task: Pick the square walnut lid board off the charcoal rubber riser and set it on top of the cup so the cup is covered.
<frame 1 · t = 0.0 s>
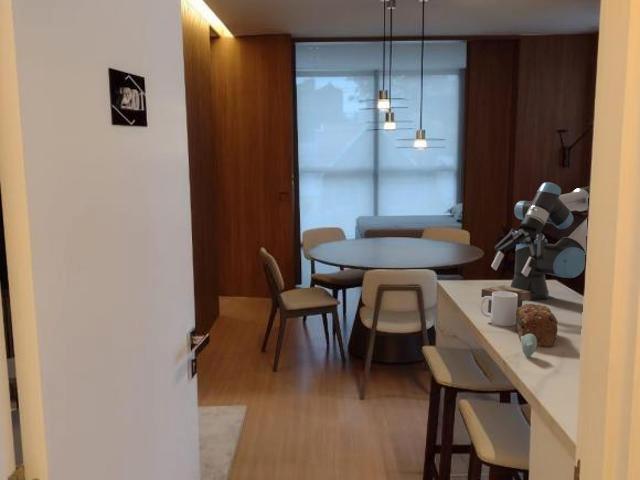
hand: (508, 271, 215), 15 cm above the breakfast bar, tool tilted 35°, fingers open, 13 cm apart
cup: (497, 323, 206), on the breakfast bar
bread: (534, 339, 189), on the breakfast bar
riser: (504, 311, 219), on the breakfast bar
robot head: (528, 357, 171), on the breakfast bar
lid: (505, 298, 218), point 5 cm above the breakfast bar, touching riser
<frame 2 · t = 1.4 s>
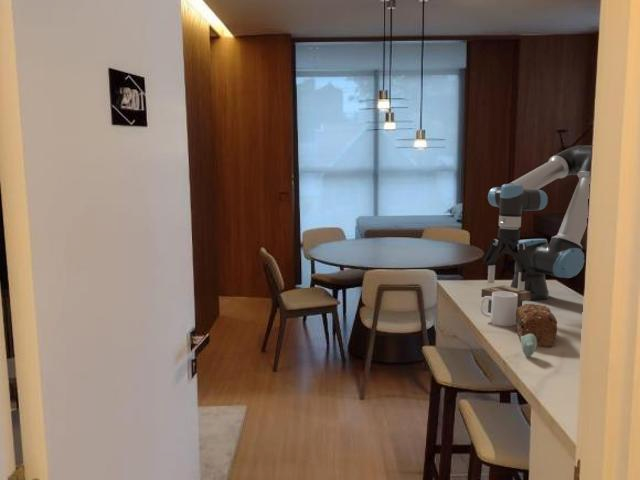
hand: (505, 286, 218), 9 cm above the breakfast bar, tool pointing down, fingers open, 13 cm apart
nothing on the breakfast bar moved.
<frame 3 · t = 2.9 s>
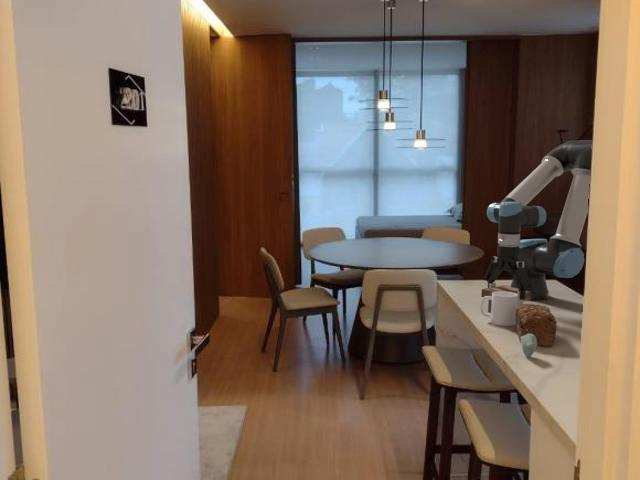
hand: (505, 304, 219), 3 cm above the breakfast bar, tool pointing down, fingers closed on lid, 12 cm apart
lid: (505, 298, 218), point 5 cm above the breakfast bar, touching gripper, riser
everything else where it was.
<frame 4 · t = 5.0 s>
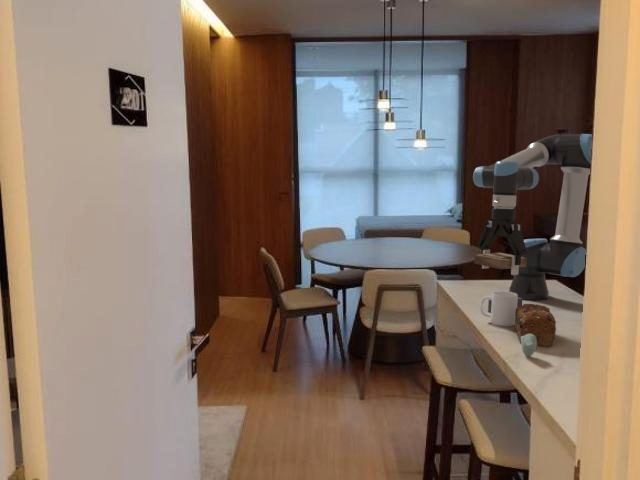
hand: (499, 271, 205), 17 cm above the breakfast bar, tool pointing down, fingers closed on lid, 12 cm apart
lid: (500, 265, 204), point 19 cm above the breakfast bar, touching gripper
everything else where it was.
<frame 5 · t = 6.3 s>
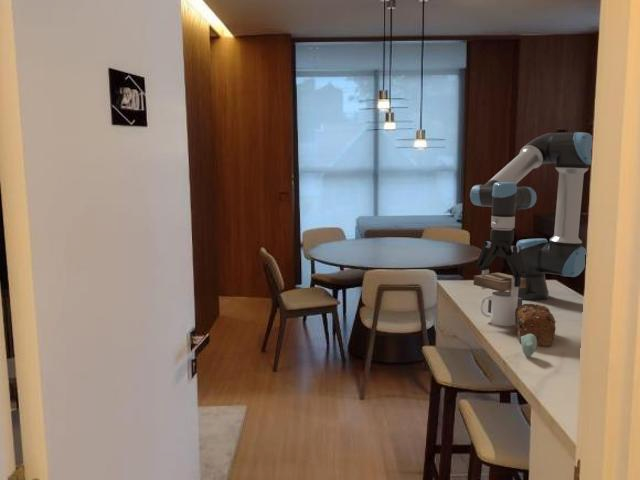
hand: (499, 292, 204), 10 cm above the breakfast bar, tool pointing down, fingers closed on lid, 12 cm apart
lid: (499, 286, 204), point 13 cm above the breakfast bar, touching gripper
everything else where it was.
when the fingers open (10 cm above the breakfast bar, at t = 7.3 s): lid drops 2 cm, resting on cup.
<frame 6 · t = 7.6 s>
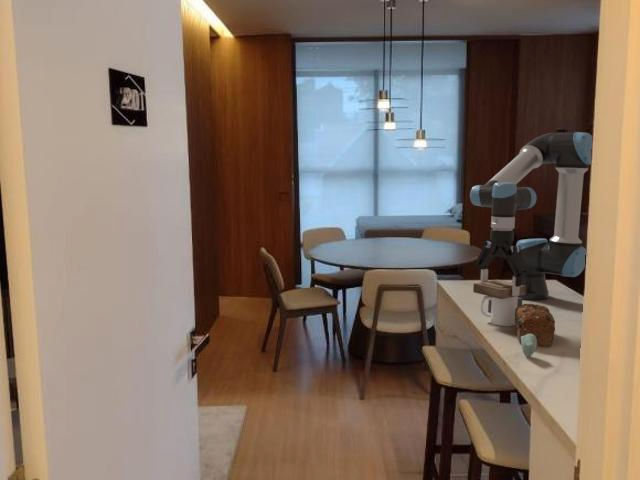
hand: (499, 291, 204), 11 cm above the breakfast bar, tool pointing down, fingers open, 13 cm apart
cup: (497, 323, 206), on the breakfast bar, touching lid
lid: (499, 293, 204), point 10 cm above the breakfast bar, touching cup
everything else where it was.
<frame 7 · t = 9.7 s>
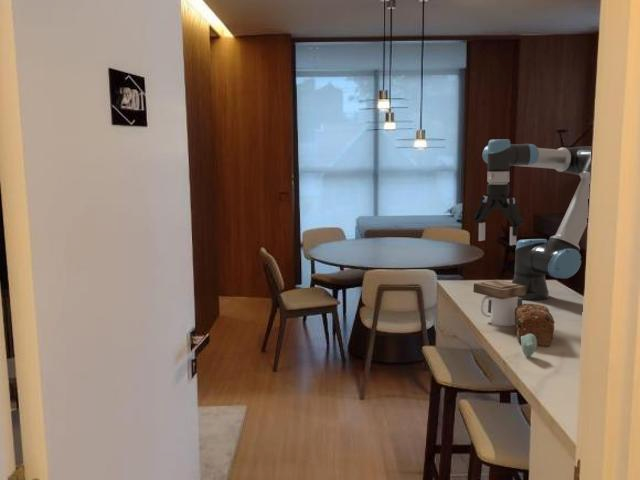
hand: (496, 242, 217), 25 cm above the breakfast bar, tool pointing down, fingers open, 13 cm apart
nothing on the breakfast bar moved.
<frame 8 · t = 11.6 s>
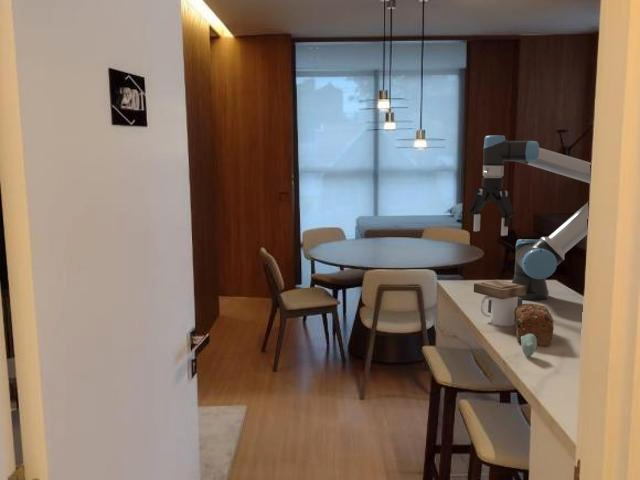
hand: (490, 233, 230), 27 cm above the breakfast bar, tool pointing down, fingers open, 13 cm apart
nothing on the breakfast bar moved.
at the end: lid 0.1 cm from the cup (horizontally); lid point 10.1 cm above the breakfast bar; lid touching cup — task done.
